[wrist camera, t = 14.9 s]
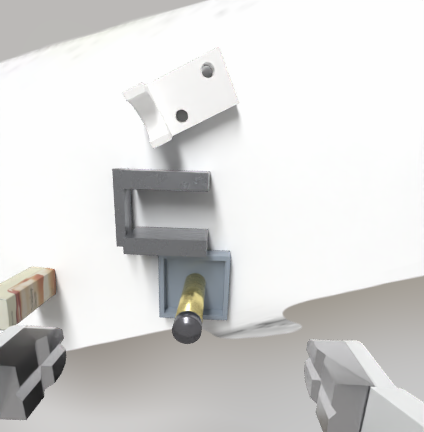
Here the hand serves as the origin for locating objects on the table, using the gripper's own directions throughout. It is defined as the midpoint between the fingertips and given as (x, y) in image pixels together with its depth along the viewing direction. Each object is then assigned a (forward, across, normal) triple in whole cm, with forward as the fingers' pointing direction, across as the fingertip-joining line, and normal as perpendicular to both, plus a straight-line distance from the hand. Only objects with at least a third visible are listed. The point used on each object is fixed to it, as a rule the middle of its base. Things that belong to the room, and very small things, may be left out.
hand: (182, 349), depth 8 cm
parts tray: (+31, +3, +14) cm, 34 cm away
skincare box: (+30, +30, +15) cm, 45 cm away
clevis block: (+31, +8, +1) cm, 32 cm away
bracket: (+32, +4, -14) cm, 35 cm away
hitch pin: (+30, +3, +14) cm, 34 cm away
